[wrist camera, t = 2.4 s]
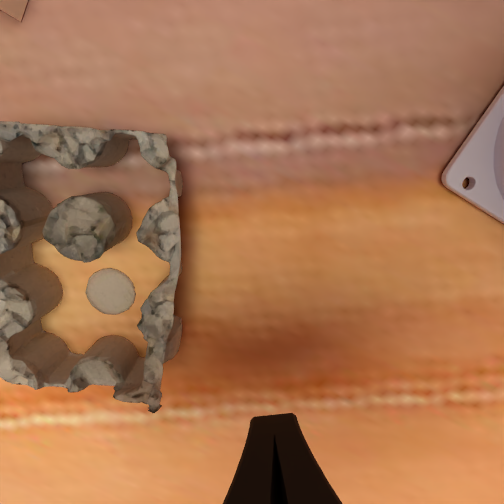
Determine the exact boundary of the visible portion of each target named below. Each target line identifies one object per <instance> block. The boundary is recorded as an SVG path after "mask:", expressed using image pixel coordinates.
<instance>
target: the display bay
mask: <svg viewBox="0 0 504 504" xmlns="http://www.w3.org/2000/svg"><path fill="white" fill-rule="evenodd" d="M27 2H28V0H0V10H2V11H3V12H5V13H7V14H8V15H10V16H12V17H13V18H15V19H17V20H18V21H20V22H21V20H22V17H23V14H24V11H25V8H26V5H27Z"/></svg>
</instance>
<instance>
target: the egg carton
mask: <svg viewBox="0 0 504 504" xmlns="http://www.w3.org/2000/svg"><path fill="white" fill-rule="evenodd" d="M130 139H137V140H138V143H139V146H140V152H141V155H142V157H143V158H144V159H145V160H146V161H147V162H148V163H149V164H150V165H152V166H153V167H155V168H157V169H160V170H163V171H165V172H167V173H168V175H169V180H170V185H171V188H170V194H169V197H167V198H165V199H163V200H162V201H161V202H158V203H156V204H155V205H153V206H152V207H151V208H149V210H148V212H147V213H146V215H145V217H144V219H143V221H142V224H141V227H140V228H139V230H138V231H137V238H138V242H140V243H142V244H144V245H146V246H147V247H149V248H150V249H151V250H152V251H153V252H154V253H155V255H156V256H157V257H159V258H160V259H162V260H164V261H168V262H169V263H170V274H169V276H167V277H166V278H165V279H164V280H163V281H162V282H161V283H160V285H159V286H158V287H157V288H156V289H155V290H153V291H152V292H151V293H150V295H149V297H148V299H146V300H145V302H144V304H143V305H142V307H141V312H142V319H141V320H140V322H139V323H138V325H137V326H138V328H139V330H141V332H142V333H143V335H144V339H145V340H146V341H147V342H148V346H147V351H146V357H145V358H144V357H139V355H138V352H137V350H136V348H135V346H134V345H133V344H132V343H131V342H130V341H129V340H127V339H126V338H124V337H121V336H116V335H111V336H105V337H102V338H100V339H99V340H97V341H96V342H95V343H94V345H93V346H92V347H91V348H90V349H89V350H88V351H87V352H86V353H85V354H84V355H82V354H74V353H71V352H70V351H69V349H68V347H67V345H66V344H65V343H64V341H63V340H62V339H61V338H60V337H58V336H56V335H54V334H52V333H47V332H45V331H43V329H42V326H41V319H40V318H41V317H42V316H44V315H45V314H47V313H48V312H50V311H51V310H52V309H54V308H55V307H56V306H57V305H58V304H59V303H60V301H61V298H62V294H63V289H62V285H61V283H60V281H59V279H58V277H57V276H56V275H55V274H54V273H53V272H52V271H50V270H49V269H48V268H45V267H43V266H41V265H38V264H36V263H34V260H33V253H32V244H31V243H33V242H35V241H38V240H41V239H43V238H44V239H45V240H46V241H48V242H49V243H51V244H52V245H54V246H55V248H56V249H57V250H58V252H60V253H61V254H62V255H64V256H65V257H67V258H70V259H73V260H78V261H83V262H84V263H85V262H91V261H93V260H95V259H97V258H100V256H101V255H102V254H103V253H104V252H105V251H107V250H108V249H110V248H112V247H113V246H115V245H116V244H118V243H120V242H121V241H123V240H124V239H125V238H126V237H127V236H128V234H129V232H130V230H131V228H132V215H131V212H130V209H129V207H128V206H127V204H126V203H125V202H124V201H123V200H122V199H121V198H120V197H118V196H116V195H113V193H108V192H99V193H93V194H87V195H82V196H72V197H70V198H68V199H66V200H64V201H63V202H61V203H59V204H58V205H57V207H55V208H54V209H53V207H52V205H51V203H50V202H49V200H48V199H47V198H46V197H45V196H44V195H42V194H41V193H39V192H38V191H36V190H34V189H31V188H28V187H26V186H25V185H24V180H23V173H22V163H23V162H29V161H32V160H34V159H36V158H37V157H39V156H40V155H41V154H44V155H46V156H49V157H52V158H55V159H56V160H57V161H58V162H59V163H60V164H61V165H62V166H64V167H66V168H68V169H81V168H83V167H108V166H112V165H114V164H116V163H117V162H119V161H120V160H121V159H122V158H123V157H124V155H125V154H126V151H127V149H128V144H129V140H130ZM166 142H167V137H166V135H165V134H154V133H146V132H143V131H132V130H96V129H92V128H87V127H61V126H55V125H40V124H21V123H20V122H4V121H0V377H1V378H2V379H4V380H5V381H7V382H10V383H12V384H21V385H28V386H30V387H33V388H34V389H35V390H37V389H40V388H42V387H46V386H57V387H64V388H67V389H68V392H78V391H81V390H83V389H85V388H86V387H87V386H89V385H92V384H94V385H109V386H114V390H115V393H114V395H113V397H114V398H115V399H117V400H120V401H123V402H132V403H140V402H143V403H145V404H148V405H149V410H148V411H150V412H152V413H155V412H156V411H158V410H159V408H160V407H161V406H162V405H160V399H161V397H162V393H161V392H160V387H161V380H162V375H163V363H165V362H167V361H168V360H170V359H172V358H173V357H174V356H175V355H176V353H177V352H178V349H179V346H180V340H181V337H182V318H181V317H177V316H175V315H173V314H174V294H175V290H176V286H177V281H178V277H179V275H180V274H181V272H182V263H181V236H180V223H179V210H178V197H179V196H182V188H183V181H182V175H181V171H179V170H177V169H176V161H175V159H174V158H172V157H170V156H169V151H168V147H167V143H166ZM134 288H135V287H134V286H133V282H132V281H131V280H130V278H129V277H128V276H127V275H125V274H124V273H123V272H121V271H119V270H117V269H112V268H107V269H101V270H99V271H97V272H95V273H94V274H93V275H92V276H91V277H90V278H89V280H88V284H87V288H86V295H87V298H88V300H89V302H90V303H91V305H92V306H93V307H95V308H96V309H97V310H99V311H100V312H102V313H104V314H112V315H114V314H120V313H122V312H124V311H126V310H128V309H129V308H130V307H131V305H132V304H133V303H134V300H135V295H136V293H135V290H134Z"/></svg>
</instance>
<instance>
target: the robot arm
mask: <svg viewBox="0 0 504 504" xmlns="http://www.w3.org/2000/svg"><path fill="white" fill-rule="evenodd" d="M466 177H467V178H468V179H469V185H468V187H466V188H465V189H464V188H463V187H462V183H463V180H464V179H465V178H466ZM442 183H443V185H444V186H445V187H446V188H448V189H449V190H451V191H453V192H454V193H456V194H457V195H459V196H460V197H462V198H464V199H465V200H467V201H468V202H470V203H471V204H473V205H475V206H476V207H478V208H479V209H481V210H483V211H484V212H486V213H487V214H489V215H490V216H492V217H494V218H495V219H497V220H498V221H500V222H501V223H503V224H504V86H503V87H502V89H501V90H500V92H499V93H498V94H497V96H496V97H495V99H494V100H493V102H492V103H491V104H490V106H489V107H488V109H487V110H486V112H485V113H484V114H483V116H482V117H481V119H480V120H479V122H478V123H477V124H476V126H475V127H474V129H473V130H472V132H471V133H470V134H469V136H468V137H467V139H466V140H465V141H464V143H463V144H462V146H461V147H460V149H459V150H458V151H457V153H456V154H455V156H454V157H453V159H452V160H451V161H450V163H449V164H448V166H447V167H446V169H445V170H444V172H443V174H442ZM223 504H342V502H341V501H340V499H339V498H338V496H337V495H336V493H335V491H334V490H333V488H332V487H331V485H330V484H329V482H328V480H327V479H326V477H325V475H324V474H323V472H322V470H321V468H320V467H319V465H318V463H317V461H316V460H315V458H314V456H313V454H312V452H311V450H310V448H309V446H308V444H307V442H306V440H305V438H304V436H303V434H302V431H301V429H300V426H299V424H298V421H297V417H296V415H294V414H293V413H287V414H278V415H268V416H258V417H253V418H252V420H251V422H250V428H249V432H248V436H247V440H246V443H245V447H244V450H243V453H242V456H241V459H240V462H239V464H238V467H237V470H236V473H235V476H234V478H233V481H232V483H231V486H230V488H229V490H228V493H227V495H226V497H225V500H224V502H223Z"/></svg>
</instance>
